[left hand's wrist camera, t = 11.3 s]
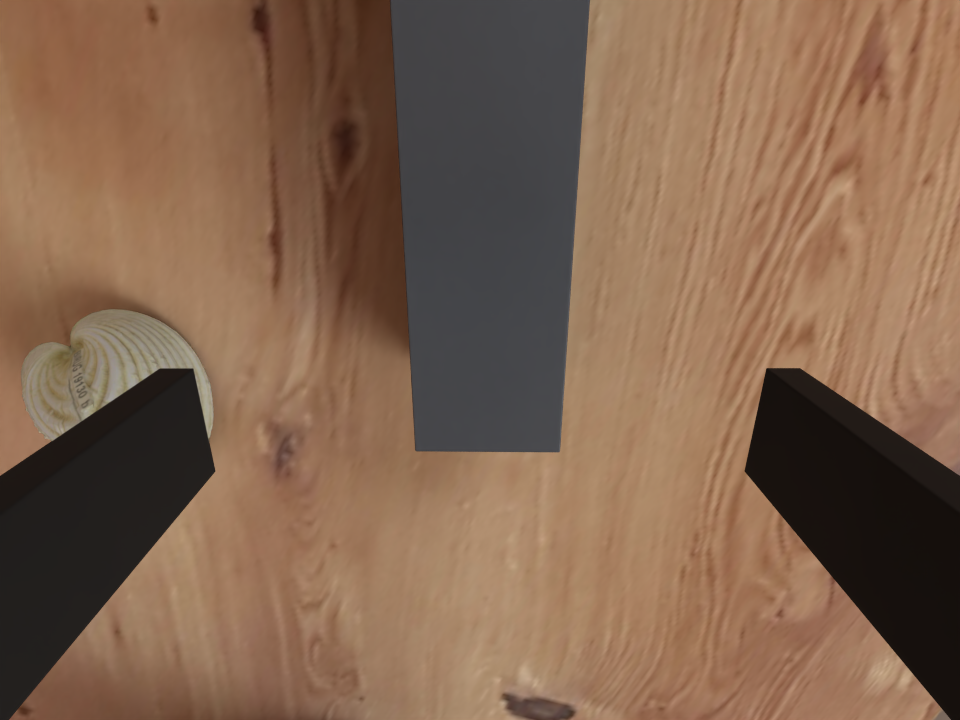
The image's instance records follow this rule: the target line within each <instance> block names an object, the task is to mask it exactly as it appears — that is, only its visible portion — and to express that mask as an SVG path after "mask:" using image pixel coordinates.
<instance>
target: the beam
mask: <svg viewBox="0 0 960 720" xmlns="http://www.w3.org/2000/svg"><path fill="white" fill-rule="evenodd" d="M589 5H590V0H390V10H391V27H392V45H393V63H394V81H395V98H396V116H397V134H398V152H399V169H400V187H401V205H402V223H403V240H404V258H405V276H406V294H407V311H408V329H409V347H410V365H411V382H412V400H413V418H414V436H415V450H416V451H454V452H560V442H561V427H562V412H563V397H564V382H565V367H566V352H567V337H568V322H569V307H570V291H571V276H572V261H573V246H574V231H575V216H576V201H577V186H578V171H579V156H580V141H581V125H582V110H583V95H584V80H585V65H586V50H587V35H588V20H589Z"/></svg>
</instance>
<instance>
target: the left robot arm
mask: <svg viewBox="0 0 960 720" xmlns="http://www.w3.org/2000/svg"><path fill="white" fill-rule="evenodd" d="M214 472H215V467H214V462H213V458H212V453H211V448H210V444H209V439H208V434H207V430H206V425H205V420H204V415H203V411H202V406H201V401H200V397H199V392H198V387H197V383H196V378H195V373H194V369H193V368H160V369H158V370H157V371H155V372H154V373H152V374H151V375H149V376H148V377H146V378H145V379H143V380H142V381H140V382H139V383H138V384H136V385H135V386H133V387H132V388H130V389H129V390H127V391H126V392H124V393H123V394H121V395H120V396H118V397H117V398H115V399H114V400H112V401H111V402H109V403H108V404H106V405H105V406H103V407H102V408H100V409H99V410H97V411H96V412H94V413H93V414H91V415H90V416H89V417H87V418H86V419H84V420H83V421H81V422H80V423H78V424H77V425H75V426H74V427H72V428H71V429H69V430H68V431H66V432H65V433H63V434H62V435H60V436H59V437H57V438H56V439H54V440H53V441H51V442H50V443H48V444H47V445H45V446H44V447H42V448H41V449H39V450H38V451H37V452H35V453H34V454H32V455H31V456H29V457H28V458H26V459H25V460H23V461H22V462H20V463H19V464H17V465H16V466H14V467H13V468H11V469H10V470H8V471H7V472H5V473H4V474H2V475H1V476H0V720H9V719H10V718H11V717H12V715H13V714H14V713H15V712H16V711H17V709H18V708H19V707H20V706H21V704H22V703H23V702H24V701H25V700H26V698H27V697H28V696H29V695H30V694H31V692H32V691H33V690H34V689H35V688H36V686H37V685H38V684H39V683H40V682H41V680H42V679H43V678H44V677H45V676H46V674H47V673H48V672H49V671H50V670H51V668H52V667H53V666H54V665H55V664H56V662H57V661H58V660H59V659H60V658H61V656H62V655H63V654H64V653H65V652H66V650H67V649H68V648H69V647H70V646H71V644H72V643H73V642H74V641H75V640H76V638H77V637H78V636H79V635H80V634H81V632H82V631H83V630H84V629H85V627H86V626H87V625H88V624H89V623H90V621H91V620H92V619H93V618H94V617H95V615H96V614H97V613H98V612H99V611H100V609H101V608H102V607H103V606H104V605H105V603H106V602H107V601H108V600H109V599H110V597H111V596H112V595H113V594H114V593H115V591H116V590H117V589H118V588H119V587H120V585H121V584H122V583H123V582H124V581H125V579H126V578H127V577H128V576H129V575H130V573H131V572H132V571H133V570H134V569H135V567H136V566H137V565H138V564H139V563H140V561H141V560H142V559H143V558H144V557H145V555H146V554H147V553H148V552H149V551H150V549H151V548H152V547H153V546H154V544H155V543H156V542H157V541H158V540H159V538H160V537H161V536H162V535H163V534H164V532H165V531H166V530H167V529H168V528H169V526H170V525H171V524H172V523H173V522H174V520H175V519H176V518H177V517H178V516H179V514H180V513H181V512H182V511H183V510H184V508H185V507H186V506H187V505H188V504H189V502H190V501H191V500H192V499H193V498H194V496H195V495H196V494H197V493H198V492H199V490H200V489H201V488H202V487H203V486H204V484H205V483H206V482H207V481H208V480H209V478H210V477H211V476H212V475H213V474H214ZM745 472H746V474H747V475H748V476H749V477H750V478H751V480H752V481H753V482H754V483H755V484H756V486H757V487H758V488H759V489H760V490H761V492H762V493H763V494H764V495H765V496H766V498H767V499H768V500H769V501H770V502H771V504H772V505H773V506H774V507H775V508H776V510H777V511H778V512H779V513H780V514H781V516H782V517H783V518H784V519H785V520H786V522H787V523H788V524H789V525H790V526H791V528H792V529H793V530H794V531H795V532H796V534H797V535H798V536H799V537H800V538H801V540H802V541H803V542H804V543H805V544H806V546H807V547H808V548H809V549H810V551H811V552H812V553H813V554H814V555H815V557H816V558H817V559H818V560H819V561H820V563H821V564H822V565H823V566H824V567H825V569H826V570H827V571H828V572H829V573H830V575H831V576H832V577H833V578H834V579H835V581H836V582H837V583H838V584H839V585H840V587H841V588H842V589H843V590H844V591H845V593H846V594H847V595H848V596H849V597H850V599H851V600H852V601H853V602H854V603H855V605H856V606H857V607H858V608H859V609H860V611H861V612H862V613H863V614H864V615H865V617H866V618H867V619H868V620H869V621H870V623H871V624H872V625H873V626H874V627H875V629H876V630H877V631H878V632H879V634H880V635H881V636H882V637H883V638H884V640H885V641H886V642H887V643H888V644H889V646H890V647H891V648H892V649H893V650H894V652H895V653H896V654H897V655H898V656H899V658H900V659H901V660H902V661H903V662H904V664H905V665H906V666H907V667H908V668H909V670H910V671H911V672H912V673H913V674H914V676H915V677H916V678H917V679H918V680H919V682H920V683H921V684H922V685H923V686H924V688H925V689H926V690H927V691H928V692H929V694H930V695H931V696H932V697H933V698H934V700H935V701H936V702H937V703H938V704H939V706H940V707H941V708H942V709H943V711H944V712H945V713H946V714H947V715H948V717H949V718H950V719H951V720H960V476H959V475H958V474H956V473H955V472H953V471H952V470H950V469H949V468H947V467H946V466H944V465H943V464H941V463H940V462H938V461H937V460H935V459H934V458H932V457H931V456H929V455H928V454H926V453H925V452H923V451H922V450H921V449H919V448H918V447H916V446H915V445H913V444H912V443H910V442H909V441H907V440H906V439H904V438H903V437H901V436H900V435H898V434H897V433H895V432H894V431H892V430H891V429H889V428H888V427H886V426H885V425H883V424H882V423H880V422H879V421H877V420H876V419H874V418H873V417H871V416H870V415H869V414H867V413H866V412H864V411H863V410H861V409H860V408H858V407H857V406H855V405H854V404H852V403H851V402H849V401H848V400H846V399H845V398H843V397H842V396H840V395H839V394H837V393H836V392H834V391H833V390H831V389H830V388H828V387H827V386H825V385H824V384H822V383H821V382H820V381H818V380H817V379H815V378H814V377H812V376H811V375H809V374H808V373H806V372H805V371H803V370H802V369H800V368H767V369H766V373H765V378H764V383H763V387H762V392H761V397H760V401H759V406H758V411H757V415H756V420H755V425H754V430H753V434H752V439H751V444H750V448H749V453H748V458H747V462H746V467H745Z"/></svg>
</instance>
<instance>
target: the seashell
mask: <svg viewBox="0 0 960 720" xmlns="http://www.w3.org/2000/svg"><path fill="white" fill-rule="evenodd" d="M70 343H71V346H70V347H69V346H66V345H63V344H60V343H57V342H48V343H43V344H40V345H38V346H37V347H35V348H34V349H33V350H31V351H30V352H29V354H28V355H27V357H26V358H25V360H24V363H23V365H22V370H21V384H22V393H23V394H22V397H23V400H24V402H25V405H26V411H28V412H29V415H30V417H31V419H32V420H33V422H34V426H35V427H37V428H38V431H39V432H40V433H42V434H43V435H44V438H45V439H50V440H51V441H53V440H54V439H56V438H57V437H59V436H60V435H62V434H63V433H65V432H66V431H68V430H69V429H71V428H72V427H74V426H75V425H77V424H78V423H80V422H81V421H83V420H84V419H86V418H87V417H89V416H90V415H91V414H93V413H94V412H96V411H97V410H99V409H100V408H102V407H103V406H105V405H106V404H108V403H109V402H111V401H112V400H114V399H115V398H117V397H118V396H120V395H121V394H123V393H124V392H126V391H127V390H129V389H130V388H132V387H133V386H135V385H136V384H138V383H139V382H140V381H142V380H143V379H145V378H146V377H148V376H149V375H151V374H152V373H154V372H155V371H157V370H158V369H160V368H193V369H194V373H195V378H196V383H197V387H198V392H199V397H200V401H201V406H202V411H203V415H204V420H205V425H206V430H207V434H208V439H209V438H210V435H211V430H212V427H213V417H214V411H213V401H212V399H213V398H212V392H211V385H210V382H209V380H208V377H207V375H206V372H205V370H204V368H203V366H202V364H201V361H200V359H199V358H198V356H197V355H196V353H195V352H194V351H193V349H192V348H191V347H190V345H189V344H188V343H187V342H186V341H185V340H184V339H183V338H182V337H181V336H180V335H179V334H178V333H177V332H176V331H174V330H173V329H171V328H170V327H168V326H167V325H166V324H164V323H162V322H161V321H159V320H157V319H155V318H152V317H150V316H148V315H145V314H142V313H138V312H134V311H129V310H118V309H109V310H102V311H98V312H94V313H91V314H89V315H87V316H85V317H83V318H82V319H81V320H79V321H78V322H77V323H76V324H75V325H74V327H73V329H72V331H71V333H70Z"/></svg>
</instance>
